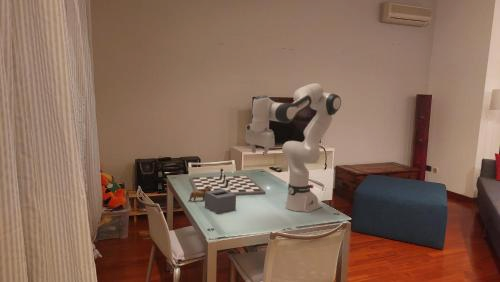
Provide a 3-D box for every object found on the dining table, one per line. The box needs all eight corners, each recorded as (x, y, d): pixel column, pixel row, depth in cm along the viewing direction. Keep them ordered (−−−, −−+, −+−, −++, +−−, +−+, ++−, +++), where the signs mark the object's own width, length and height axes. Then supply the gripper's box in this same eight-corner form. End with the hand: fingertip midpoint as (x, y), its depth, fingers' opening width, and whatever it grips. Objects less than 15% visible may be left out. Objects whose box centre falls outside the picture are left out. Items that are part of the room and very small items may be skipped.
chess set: (189, 180, 270) (189, 165, 268) (247, 178, 282) (248, 164, 280) (196, 198, 227) (197, 180, 225) (265, 195, 239) (266, 178, 237)
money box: (222, 203, 217) (222, 188, 215) (235, 210, 206) (236, 194, 204) (204, 206, 210) (205, 191, 208) (217, 214, 198) (217, 198, 197)
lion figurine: (209, 198, 226) (209, 184, 225) (212, 200, 221) (212, 186, 220) (186, 201, 219) (186, 186, 217) (189, 204, 214) (189, 189, 213)
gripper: (278, 129, 180) (276, 156, 182) (253, 125, 196) (252, 150, 198) (268, 130, 176) (267, 158, 178) (243, 125, 192) (242, 151, 194)
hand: (259, 154), depth 188 cm, fingers open, 8 cm apart
